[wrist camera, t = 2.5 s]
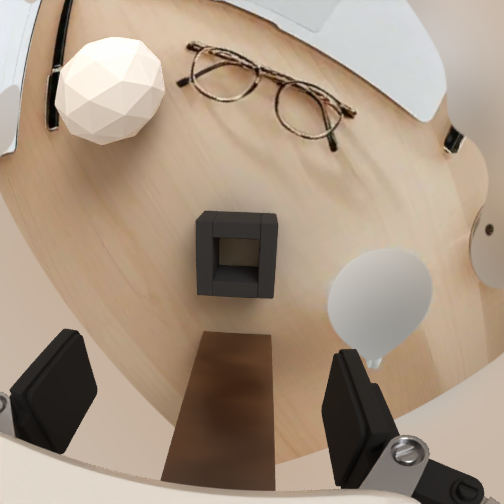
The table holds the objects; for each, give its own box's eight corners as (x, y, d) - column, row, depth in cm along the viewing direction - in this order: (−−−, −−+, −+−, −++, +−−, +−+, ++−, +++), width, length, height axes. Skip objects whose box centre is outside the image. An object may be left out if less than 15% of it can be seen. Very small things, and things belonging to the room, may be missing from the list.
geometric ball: (164, 90, 24) (206, 78, 18) (101, 161, 23) (121, 173, 17) (105, 33, 19) (129, -2, 13) (36, 106, 18) (29, 94, 12)
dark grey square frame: (276, 213, 24) (278, 223, 21) (272, 280, 26) (273, 299, 23) (204, 210, 24) (195, 220, 21) (204, 277, 26) (197, 295, 23)
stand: (283, 325, 27) (305, 693, 1) (276, 391, 30) (280, 673, 3) (192, 320, 27) (82, 661, 1) (196, 387, 30) (135, 657, 3)
